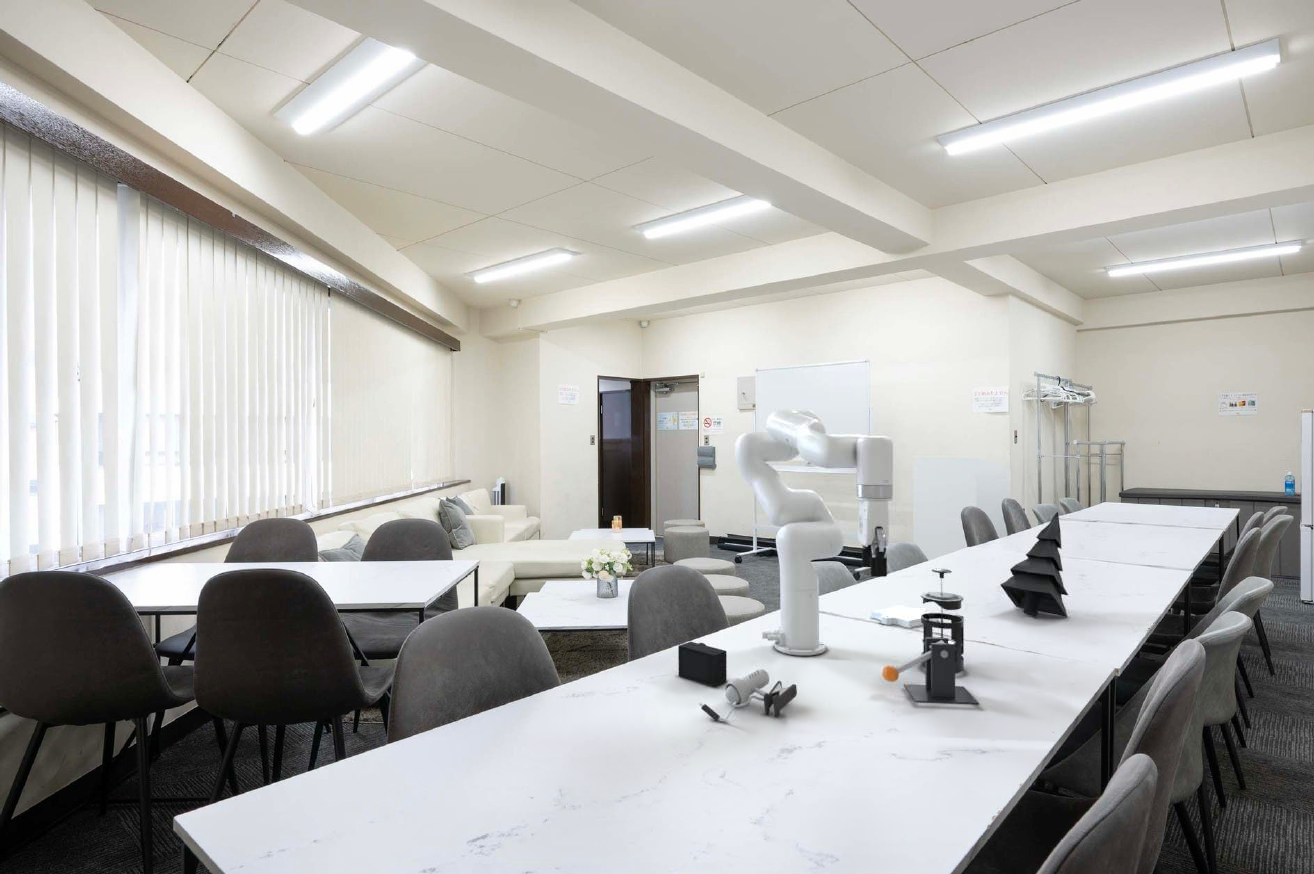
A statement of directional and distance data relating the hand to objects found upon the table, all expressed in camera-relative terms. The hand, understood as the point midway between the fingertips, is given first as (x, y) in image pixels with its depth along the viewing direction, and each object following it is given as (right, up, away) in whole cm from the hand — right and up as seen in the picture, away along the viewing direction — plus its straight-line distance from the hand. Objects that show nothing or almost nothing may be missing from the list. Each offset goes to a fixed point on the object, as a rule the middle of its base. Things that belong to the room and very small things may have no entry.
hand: (874, 571), depth 148 cm
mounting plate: (+25, -24, +51) cm, 61 cm away
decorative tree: (+69, -24, +58) cm, 93 cm away
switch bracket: (+10, -24, -10) cm, 28 cm away
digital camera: (-37, -24, +2) cm, 44 cm away
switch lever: (+6, -18, -10) cm, 21 cm away
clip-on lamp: (-30, -24, -16) cm, 41 cm away
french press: (+18, -24, +7) cm, 31 cm away
